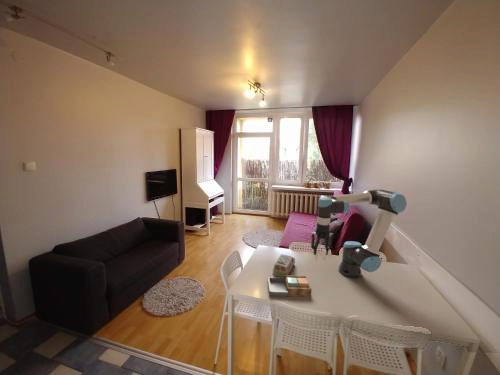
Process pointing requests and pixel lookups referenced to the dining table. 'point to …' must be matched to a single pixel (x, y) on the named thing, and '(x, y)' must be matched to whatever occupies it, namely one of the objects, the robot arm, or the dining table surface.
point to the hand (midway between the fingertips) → (320, 259)
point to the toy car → (283, 266)
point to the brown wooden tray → (297, 288)
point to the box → (277, 287)
